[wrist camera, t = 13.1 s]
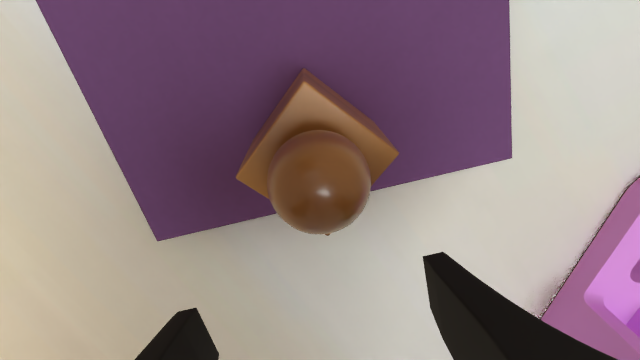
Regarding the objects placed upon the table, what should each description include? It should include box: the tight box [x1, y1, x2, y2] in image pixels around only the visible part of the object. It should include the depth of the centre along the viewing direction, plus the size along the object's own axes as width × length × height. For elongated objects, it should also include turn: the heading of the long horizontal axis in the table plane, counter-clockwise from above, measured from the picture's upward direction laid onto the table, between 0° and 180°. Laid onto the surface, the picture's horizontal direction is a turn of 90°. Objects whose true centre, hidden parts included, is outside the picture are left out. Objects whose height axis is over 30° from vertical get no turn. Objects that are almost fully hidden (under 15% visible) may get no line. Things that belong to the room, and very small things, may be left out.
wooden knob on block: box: [236, 68, 399, 236], centre depth 14 cm, size 4×4×8 cm
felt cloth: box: [36, 0, 512, 241], centre depth 15 cm, size 20×20×1 cm
